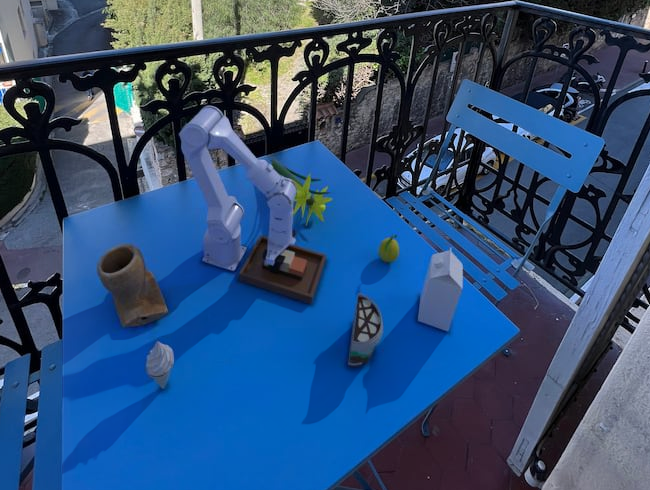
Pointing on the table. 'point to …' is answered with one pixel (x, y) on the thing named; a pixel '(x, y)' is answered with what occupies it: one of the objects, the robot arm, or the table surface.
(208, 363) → the table surface
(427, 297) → the milk carton
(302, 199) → the daffodil flowers
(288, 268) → the beige and orange block
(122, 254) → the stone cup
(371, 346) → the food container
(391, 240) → the yellow pear
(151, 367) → the ice cream cone
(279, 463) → the table surface
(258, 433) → the table surface
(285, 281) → the brown serving tray
